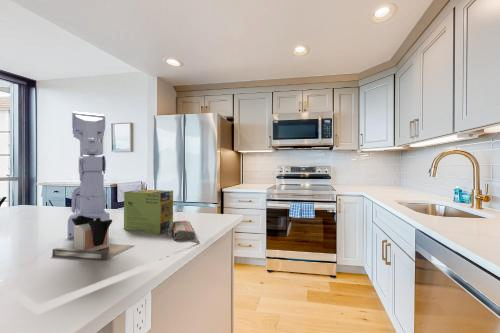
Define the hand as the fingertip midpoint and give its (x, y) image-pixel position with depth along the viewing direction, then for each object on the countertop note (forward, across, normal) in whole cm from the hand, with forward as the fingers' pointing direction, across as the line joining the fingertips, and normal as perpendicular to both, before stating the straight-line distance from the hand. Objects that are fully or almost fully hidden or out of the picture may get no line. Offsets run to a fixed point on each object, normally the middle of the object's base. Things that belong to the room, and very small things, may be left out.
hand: (91, 242), depth 72 cm
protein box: (+3, -8, +26) cm, 27 cm away
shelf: (+3, +3, 0) cm, 4 cm away
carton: (+2, 0, 0) cm, 2 cm away
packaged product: (+4, +10, +25) cm, 28 cm away
